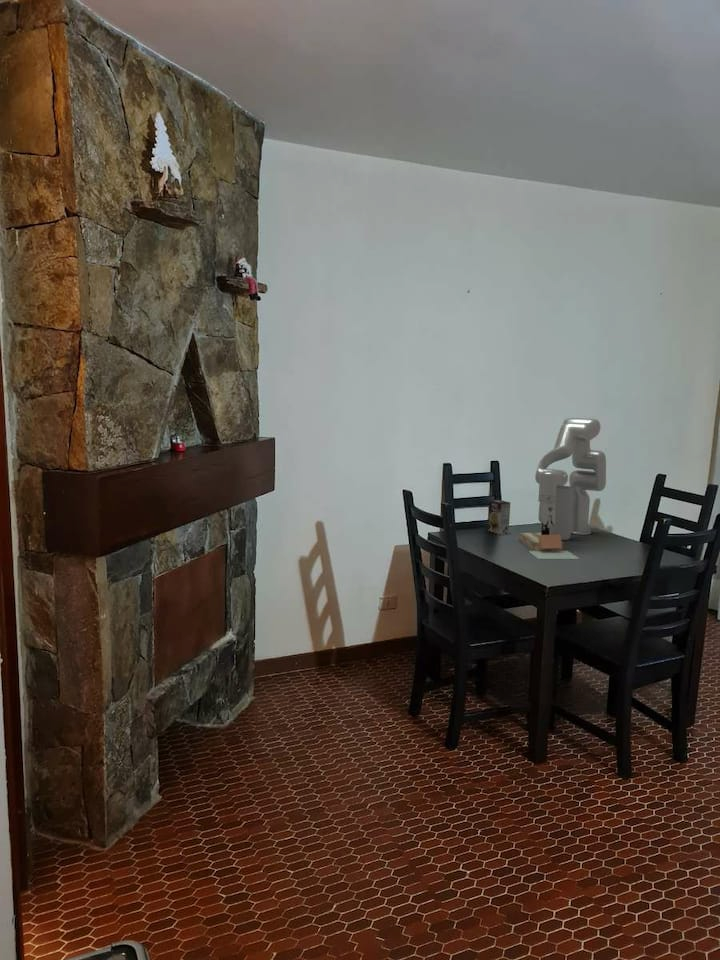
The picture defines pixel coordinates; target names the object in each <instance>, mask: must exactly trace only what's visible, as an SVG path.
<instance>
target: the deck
mask: <svg viewBox="0 0 720 960" xmlns="http://www.w3.org/2000/svg"><path fill="white" fill-rule="evenodd" d="M540 535H541V532H519V542H520V543H521V544H522V545H523V546H525V547H526V548H527V549H529V551H564V542H563V540H561V544H562V548H561V549H547V550H540V545H539V537H538V536H540ZM549 535H551V534H549Z"/></svg>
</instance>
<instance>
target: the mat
mask: <svg viewBox="0 0 720 960" xmlns="http://www.w3.org/2000/svg"><path fill="white" fill-rule="evenodd" d="M528 552H529V554H531V555H533V557H535V558H536V559H537V560H580V557H578V556H576V555H574V554H573V553H572V552H570V551H569V550H563V551H531V550H528Z"/></svg>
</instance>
